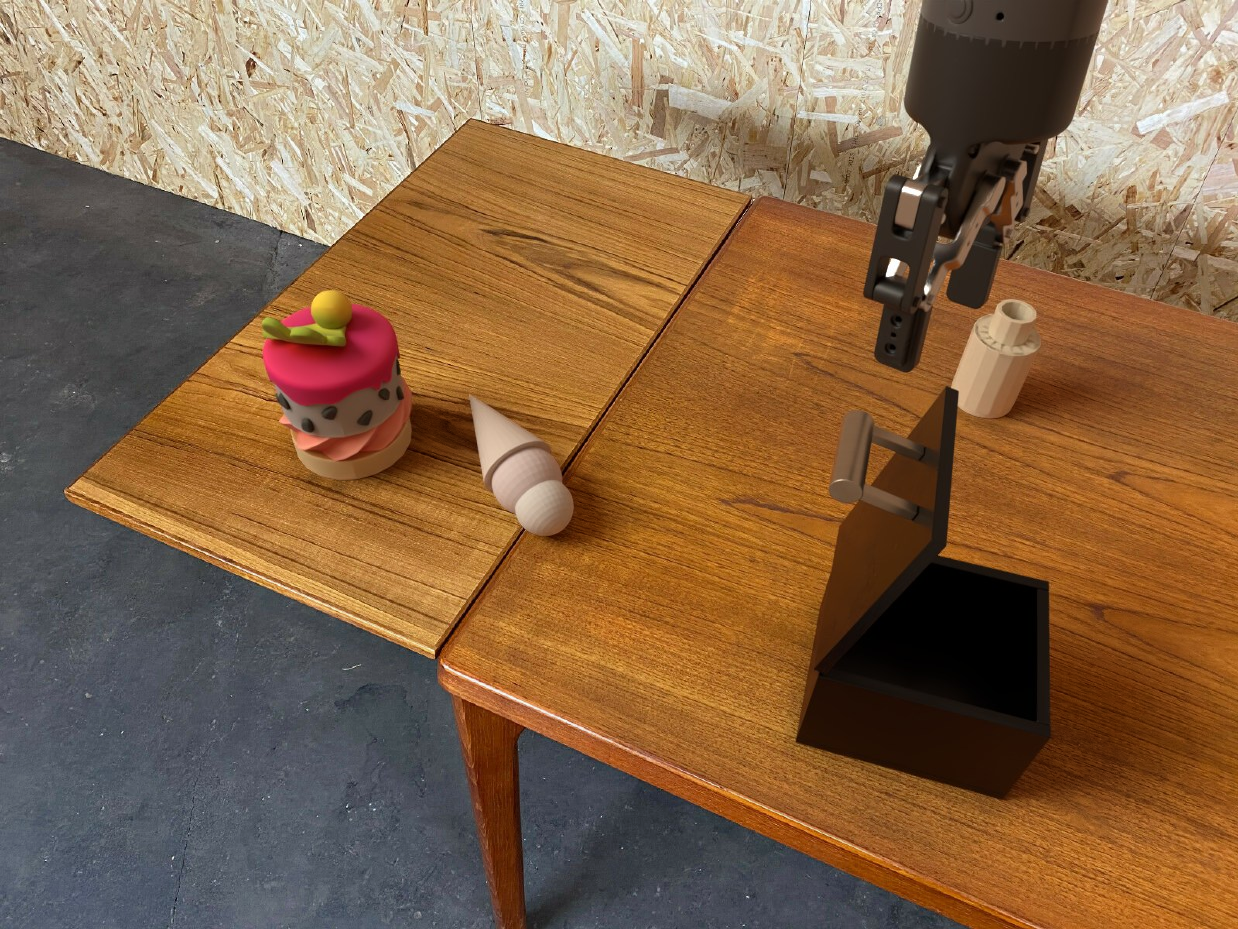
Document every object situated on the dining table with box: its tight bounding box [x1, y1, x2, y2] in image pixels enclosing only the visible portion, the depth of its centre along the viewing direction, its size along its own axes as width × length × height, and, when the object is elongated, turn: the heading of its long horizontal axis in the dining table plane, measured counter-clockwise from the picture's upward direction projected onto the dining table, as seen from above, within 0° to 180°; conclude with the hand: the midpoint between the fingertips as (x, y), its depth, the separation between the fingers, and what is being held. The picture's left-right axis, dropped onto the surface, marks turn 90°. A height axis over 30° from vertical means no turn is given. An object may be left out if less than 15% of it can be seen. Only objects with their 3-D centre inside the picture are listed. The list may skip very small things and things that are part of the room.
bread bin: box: [795, 554, 1052, 800], centre depth 64 cm, size 14×12×9 cm
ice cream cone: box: [468, 393, 575, 537], centre depth 77 cm, size 6×6×15 cm
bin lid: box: [814, 385, 959, 674], centre depth 56 cm, size 14×12×6 cm
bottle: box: [950, 298, 1042, 419], centre depth 84 cm, size 6×6×10 cm
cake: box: [261, 289, 413, 481], centre depth 77 cm, size 10×11×15 cm
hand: (931, 332), depth 52 cm, fingers open, 8 cm apart
